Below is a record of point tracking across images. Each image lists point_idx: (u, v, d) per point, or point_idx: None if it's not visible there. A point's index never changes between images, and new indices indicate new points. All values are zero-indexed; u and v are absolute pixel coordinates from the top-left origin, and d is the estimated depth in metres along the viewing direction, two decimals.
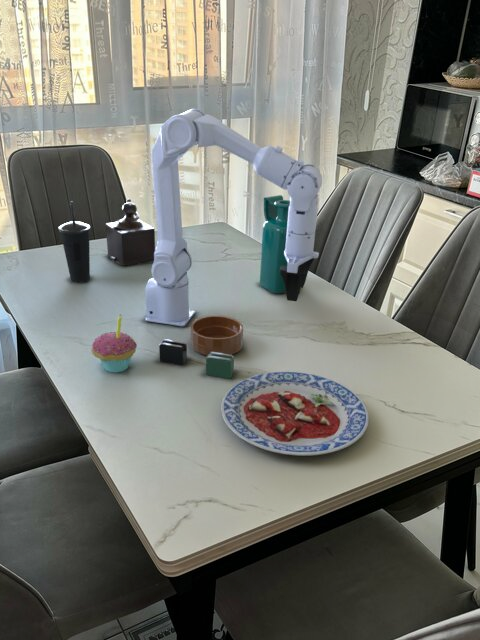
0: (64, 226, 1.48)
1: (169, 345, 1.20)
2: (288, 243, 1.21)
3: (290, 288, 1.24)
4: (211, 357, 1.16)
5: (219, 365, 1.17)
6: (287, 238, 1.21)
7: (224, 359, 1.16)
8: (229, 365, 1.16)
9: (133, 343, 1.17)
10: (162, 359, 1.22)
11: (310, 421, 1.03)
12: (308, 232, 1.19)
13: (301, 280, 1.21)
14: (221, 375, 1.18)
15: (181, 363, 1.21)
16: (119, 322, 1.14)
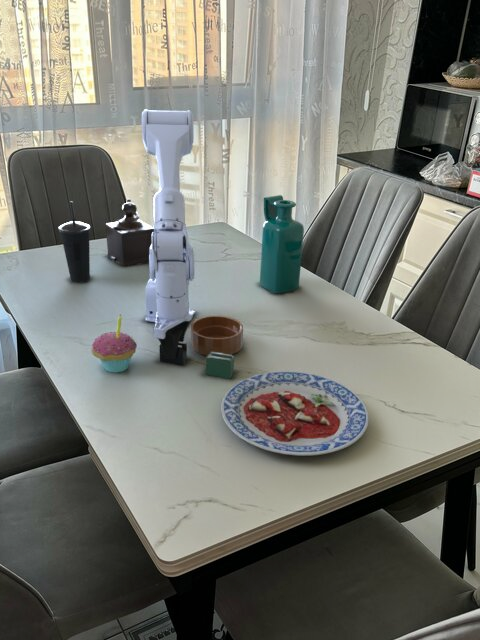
0: (64, 226, 1.48)
1: None
2: (157, 305, 1.15)
3: (167, 346, 1.19)
4: (211, 357, 1.16)
5: (219, 365, 1.17)
6: (157, 300, 1.15)
7: (224, 359, 1.16)
8: (229, 365, 1.16)
9: (133, 343, 1.17)
10: (162, 359, 1.22)
11: (310, 421, 1.03)
12: (159, 294, 1.13)
13: (175, 339, 1.16)
14: (221, 375, 1.18)
15: (181, 363, 1.21)
16: (119, 322, 1.14)
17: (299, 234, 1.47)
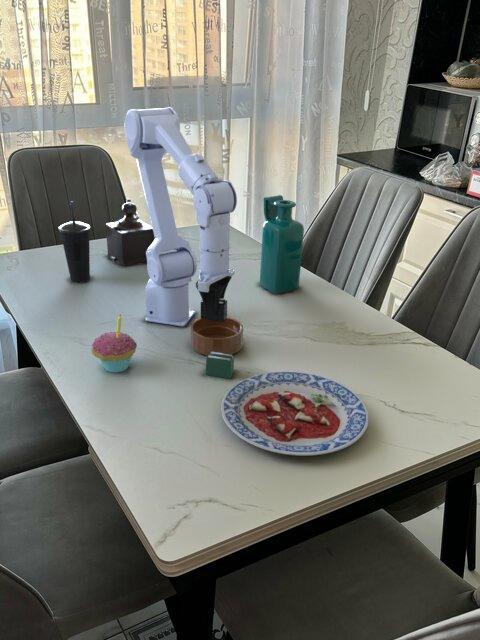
0: (64, 226, 1.48)
1: None
2: (200, 260, 1.17)
3: (208, 302, 1.21)
4: (211, 357, 1.16)
5: (219, 365, 1.17)
6: (200, 255, 1.17)
7: (224, 359, 1.16)
8: (229, 365, 1.16)
9: (133, 343, 1.17)
10: (203, 316, 1.24)
11: (310, 421, 1.03)
12: (210, 249, 1.14)
13: (218, 294, 1.18)
14: (221, 375, 1.18)
15: (222, 319, 1.23)
16: (119, 322, 1.14)
17: (299, 234, 1.47)
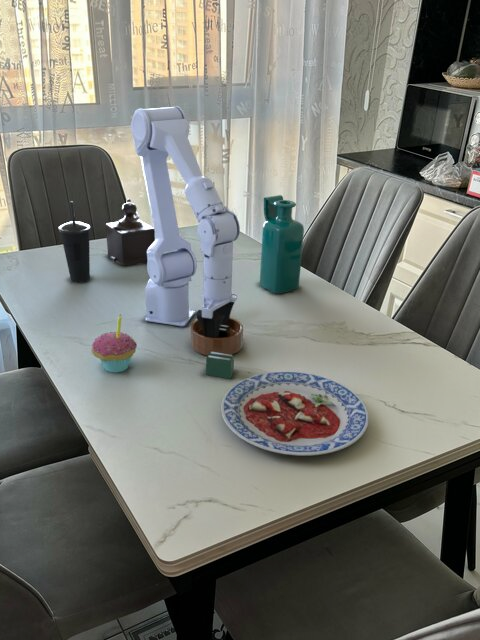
0: (64, 226, 1.48)
1: None
2: (204, 287, 1.20)
3: (208, 332, 1.23)
4: (211, 357, 1.16)
5: (219, 365, 1.17)
6: (204, 282, 1.20)
7: (224, 359, 1.16)
8: (229, 365, 1.16)
9: (133, 343, 1.17)
10: None
11: (310, 421, 1.03)
12: (214, 277, 1.18)
13: (217, 324, 1.20)
14: (221, 375, 1.18)
15: None
16: (119, 322, 1.14)
17: (299, 234, 1.47)
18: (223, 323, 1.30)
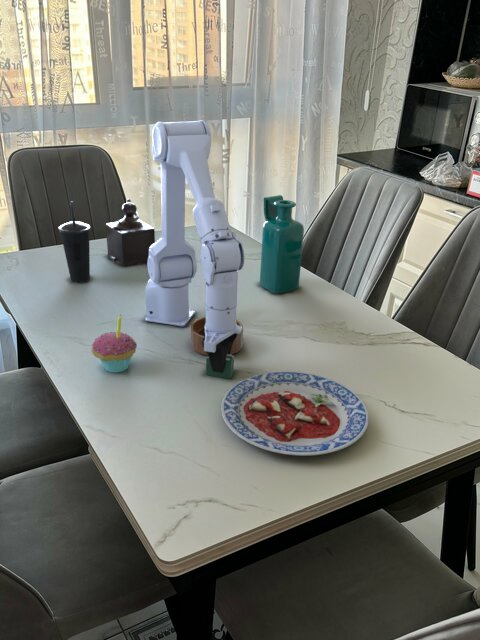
0: (64, 226, 1.48)
1: None
2: (207, 317, 1.11)
3: (215, 359, 1.15)
4: None
5: None
6: (206, 312, 1.11)
7: None
8: (229, 365, 1.16)
9: (133, 343, 1.17)
10: None
11: (310, 421, 1.03)
12: (214, 307, 1.09)
13: (225, 352, 1.13)
14: (221, 375, 1.18)
15: None
16: (119, 322, 1.14)
17: (299, 234, 1.47)
18: None
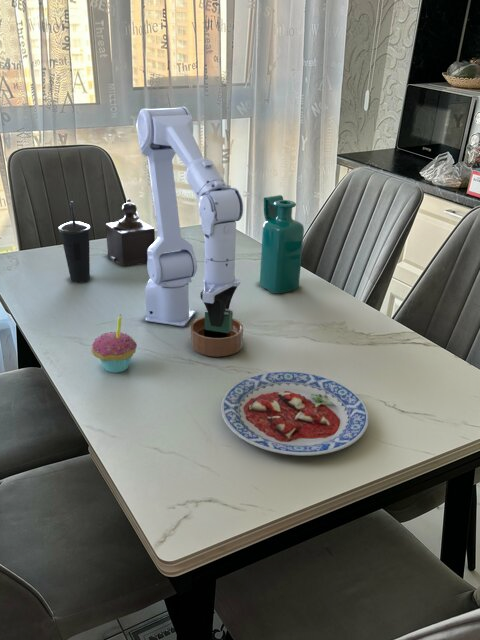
0: (64, 226, 1.48)
1: None
2: (205, 270, 1.12)
3: (213, 313, 1.17)
4: None
5: None
6: (205, 265, 1.12)
7: None
8: (227, 319, 1.17)
9: (133, 343, 1.17)
10: None
11: (310, 421, 1.03)
12: (214, 259, 1.10)
13: (223, 305, 1.14)
14: (219, 329, 1.19)
15: None
16: (119, 322, 1.14)
17: (299, 234, 1.47)
18: None
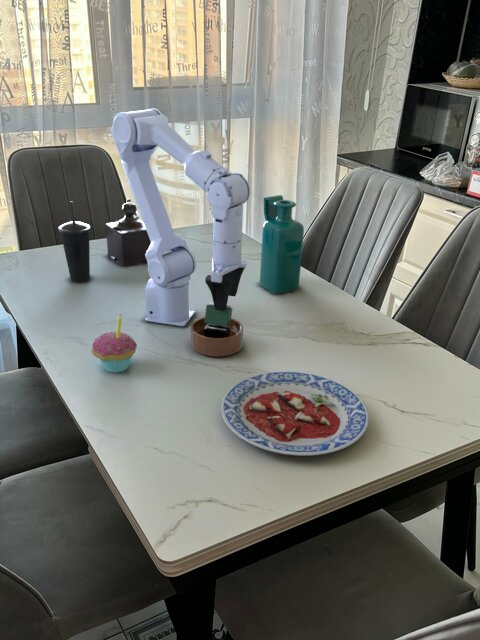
0: (64, 226, 1.48)
1: (214, 328, 1.26)
2: (214, 251, 1.20)
3: (217, 297, 1.22)
4: (211, 304, 1.25)
5: (218, 312, 1.25)
6: (213, 247, 1.20)
7: None
8: (228, 311, 1.24)
9: (133, 343, 1.17)
10: None
11: (310, 421, 1.03)
12: (227, 241, 1.17)
13: (227, 289, 1.19)
14: (219, 322, 1.25)
15: None
16: (119, 322, 1.14)
17: (299, 234, 1.47)
18: (232, 291, 1.29)
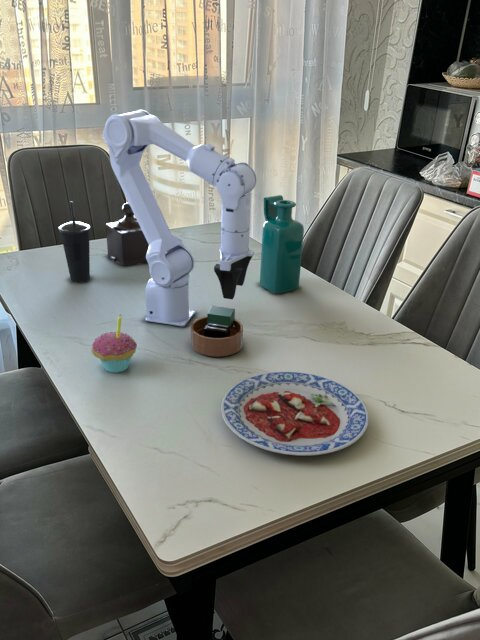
0: (64, 226, 1.48)
1: (214, 328, 1.26)
2: (222, 241, 1.22)
3: (226, 286, 1.24)
4: None
5: (223, 309, 1.28)
6: (221, 236, 1.22)
7: (229, 308, 1.29)
8: (232, 310, 1.28)
9: (133, 343, 1.17)
10: None
11: (310, 421, 1.03)
12: (238, 230, 1.19)
13: (235, 278, 1.21)
14: (222, 314, 1.26)
15: None
16: (119, 322, 1.14)
17: (299, 234, 1.47)
18: (239, 280, 1.31)
